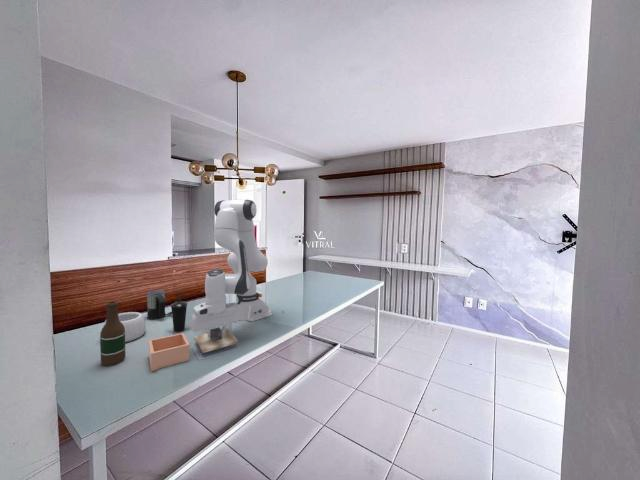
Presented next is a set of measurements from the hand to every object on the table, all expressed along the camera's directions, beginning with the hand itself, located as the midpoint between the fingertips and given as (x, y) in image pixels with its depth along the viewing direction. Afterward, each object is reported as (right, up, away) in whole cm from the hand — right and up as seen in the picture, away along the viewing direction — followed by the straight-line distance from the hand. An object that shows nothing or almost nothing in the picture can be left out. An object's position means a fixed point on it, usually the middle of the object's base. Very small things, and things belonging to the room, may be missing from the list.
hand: (215, 335), depth 116 cm
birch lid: (0, -3, 0) cm, 3 cm away
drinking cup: (-26, -3, +16) cm, 30 cm away
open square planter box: (-15, -6, -11) cm, 19 cm away
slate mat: (-1, -5, 0) cm, 5 cm away
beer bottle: (-35, -5, -14) cm, 38 cm away
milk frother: (-44, -2, +34) cm, 56 cm away
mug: (-46, -4, +4) cm, 46 cm away
